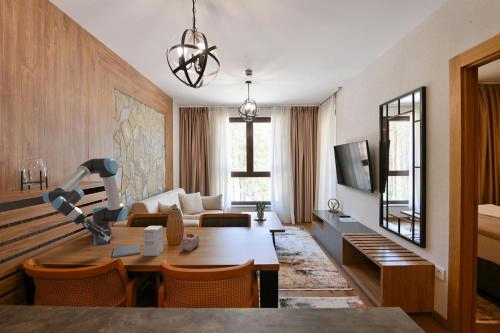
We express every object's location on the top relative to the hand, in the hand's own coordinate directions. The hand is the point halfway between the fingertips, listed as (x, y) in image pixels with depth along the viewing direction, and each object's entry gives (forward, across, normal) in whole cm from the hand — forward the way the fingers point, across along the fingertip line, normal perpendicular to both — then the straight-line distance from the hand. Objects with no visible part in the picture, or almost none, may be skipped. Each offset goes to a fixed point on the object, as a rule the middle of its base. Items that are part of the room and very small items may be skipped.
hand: (109, 238), depth 167 cm
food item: (+42, +12, +28) cm, 52 cm away
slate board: (+14, -1, 0) cm, 14 cm away
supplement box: (+26, +11, +11) cm, 30 cm away
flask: (0, 0, -5) cm, 5 cm away
